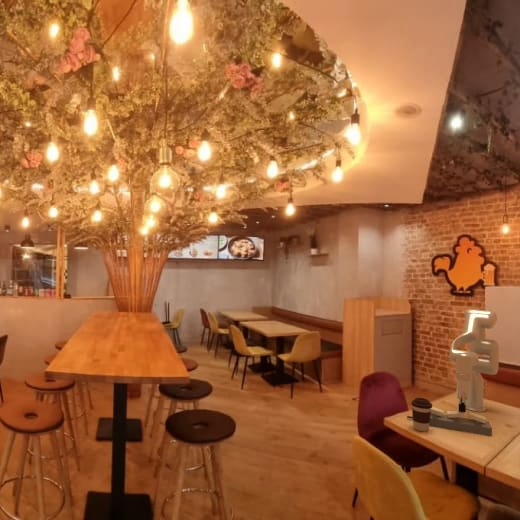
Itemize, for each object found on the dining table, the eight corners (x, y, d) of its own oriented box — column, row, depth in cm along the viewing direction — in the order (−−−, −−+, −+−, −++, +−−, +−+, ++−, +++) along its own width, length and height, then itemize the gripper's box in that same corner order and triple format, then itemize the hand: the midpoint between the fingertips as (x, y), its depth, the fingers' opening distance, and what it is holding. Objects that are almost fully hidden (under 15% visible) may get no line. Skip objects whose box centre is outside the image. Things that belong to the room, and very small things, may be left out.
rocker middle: (447, 414, 221) (446, 410, 222) (463, 414, 219) (463, 409, 219) (448, 417, 217) (447, 413, 217) (464, 417, 214) (463, 412, 214)
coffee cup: (427, 426, 215) (428, 397, 216) (433, 433, 205) (435, 403, 206) (408, 424, 216) (409, 395, 217) (413, 431, 206) (414, 401, 207)
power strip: (407, 416, 229) (407, 407, 229) (488, 429, 215) (488, 420, 215) (406, 422, 220) (407, 413, 220) (491, 436, 205) (492, 426, 205)
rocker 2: (467, 414, 218) (468, 410, 218) (484, 420, 215) (485, 416, 215) (468, 417, 213) (469, 413, 213) (485, 423, 210) (486, 419, 210)
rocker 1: (426, 408, 225) (427, 404, 225) (442, 414, 222) (443, 410, 222) (426, 411, 221) (428, 407, 220) (442, 417, 218) (443, 413, 218)
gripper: (454, 372, 225) (453, 406, 225) (456, 378, 211) (455, 414, 211) (469, 374, 223) (468, 408, 222) (473, 380, 209) (471, 417, 208)
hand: (462, 411), depth 216 cm, fingers closed
